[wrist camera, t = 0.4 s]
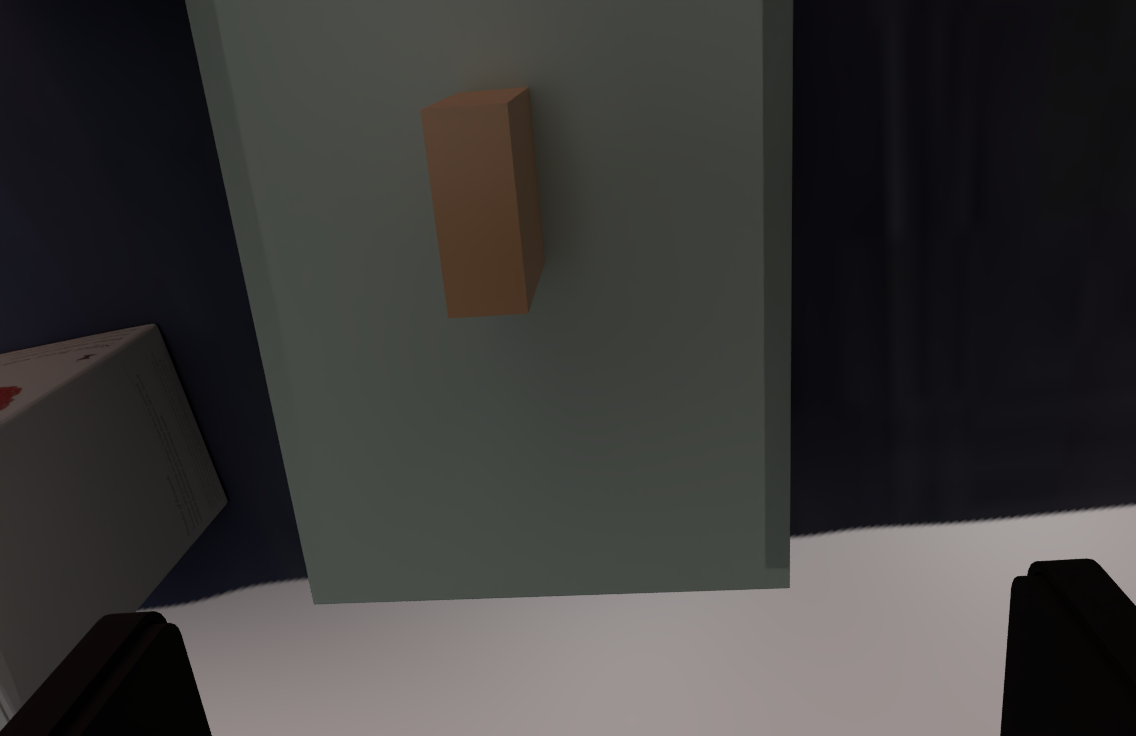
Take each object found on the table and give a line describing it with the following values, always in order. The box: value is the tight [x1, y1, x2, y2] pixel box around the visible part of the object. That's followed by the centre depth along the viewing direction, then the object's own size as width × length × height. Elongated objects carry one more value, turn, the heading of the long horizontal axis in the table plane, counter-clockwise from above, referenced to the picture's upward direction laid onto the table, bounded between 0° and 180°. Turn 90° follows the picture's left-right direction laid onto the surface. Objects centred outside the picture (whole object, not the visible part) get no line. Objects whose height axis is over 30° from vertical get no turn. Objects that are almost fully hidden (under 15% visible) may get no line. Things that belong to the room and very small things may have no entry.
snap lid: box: [185, 0, 793, 604], centre depth 26 cm, size 22×16×7 cm
